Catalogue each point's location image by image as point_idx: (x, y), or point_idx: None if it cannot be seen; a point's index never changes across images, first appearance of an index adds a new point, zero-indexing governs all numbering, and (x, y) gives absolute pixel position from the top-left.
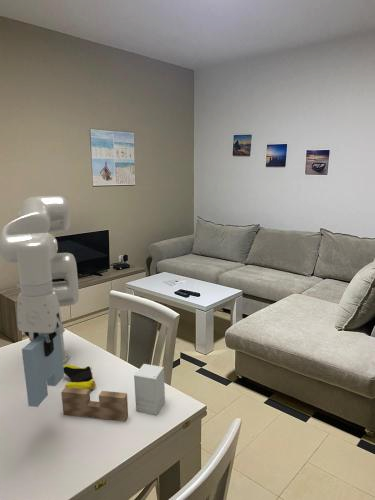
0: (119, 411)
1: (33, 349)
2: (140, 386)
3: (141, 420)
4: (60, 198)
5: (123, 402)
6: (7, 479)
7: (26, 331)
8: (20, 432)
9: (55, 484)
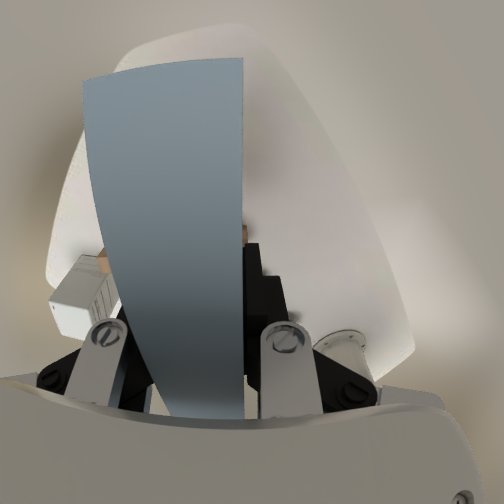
0: None
1: (94, 133)
2: (84, 291)
3: (95, 238)
4: None
5: (102, 251)
6: (263, 48)
7: (331, 422)
8: (310, 163)
9: (164, 57)
